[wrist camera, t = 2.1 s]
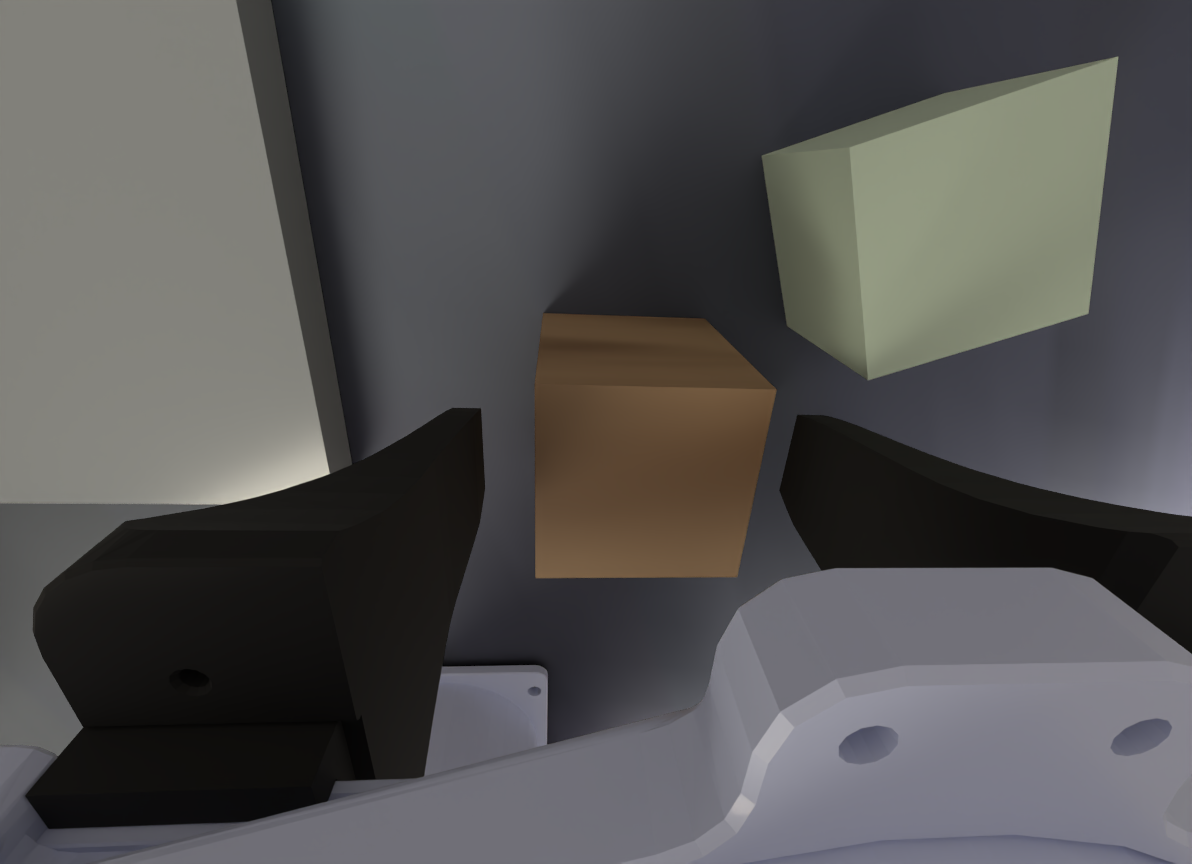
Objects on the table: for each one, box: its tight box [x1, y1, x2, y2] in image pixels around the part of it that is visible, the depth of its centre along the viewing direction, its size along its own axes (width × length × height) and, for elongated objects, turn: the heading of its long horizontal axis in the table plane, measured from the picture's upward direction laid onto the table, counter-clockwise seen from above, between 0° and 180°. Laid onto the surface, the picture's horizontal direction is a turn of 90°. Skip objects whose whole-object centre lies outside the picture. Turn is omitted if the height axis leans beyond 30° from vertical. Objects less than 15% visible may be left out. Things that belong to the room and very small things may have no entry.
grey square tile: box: [0, 0, 352, 504], centre depth 12 cm, size 12×12×2 cm
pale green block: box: [762, 57, 1118, 380], centre depth 12 cm, size 4×4×4 cm
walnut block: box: [535, 313, 777, 578], centre depth 13 cm, size 4×4×6 cm
